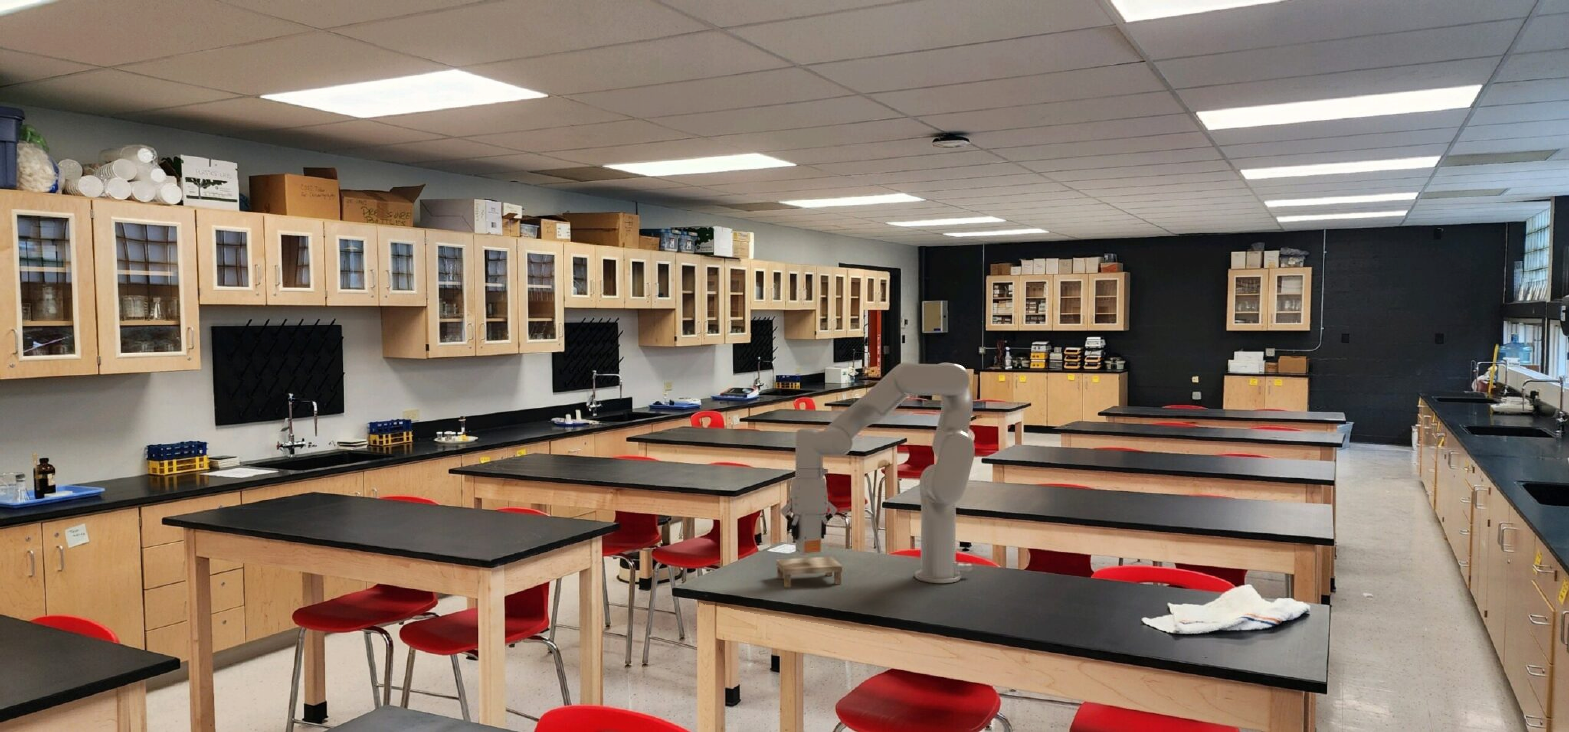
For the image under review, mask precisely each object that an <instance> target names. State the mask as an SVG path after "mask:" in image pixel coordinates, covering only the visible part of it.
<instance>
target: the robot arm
mask: <svg viewBox="0 0 1569 732" xmlns="http://www.w3.org/2000/svg"><path fill="white" fill-rule="evenodd" d="M969 385H970V374H969V372H968V370H967V369H966V368H965V367H964V366H963V365H960V364H957V363H951V362H941V363H940V362H939V363H937V364H936V363H914V362H906V361H905V362H901V363H899V364H897V365H895V366H894V367H893V368H892V369H891V370H890V371H889V372H888V373H886V375H885V376H884V377H882V378H881V379H880V380H879V381H878V382H877V383H876V384H875V385H874V386H872V388H870V389H869V390H868V391H867V392H866V393H865V394H863V396H861V397H860V398H859V399H857V400H856V401H855V402H854V403H853V404H851V405H850V406H849V407H848V408H846V409H845V410H843V411H842V412H841V413H840V414H839V415H838V416H837V417H836V418H834V419H833V420H832V421H831V422H830V423H829V424H828V425H827V426H826V427H825V428H824V429H823V430H821V429H820V428H814V427H812V428H811V427H810V428H807V427H806V428H803V427H802V428H799V429H798V430H797V431H796V433H795V474H794V475H795V476H794V477H792V479H791V482H790V483H791V484H790V491H789V502H787V503H786V504H785V505H784V506H783V507H782V508H781V509H780V510H779V512H780V513H781V516H783V517H784V518H785V519H786V520H787V521H788V522H789V523H790V525H791V527H790V529H791V531H790V534H791V537H792V538H793V539H794V540H795V541H796V540H797V539H798V525H797V521H798V519H799V517H800V516H801V515H802V512H803V511H810V512H811V513H812V514H814V515H820V516H821V519H822V528H821V540H824V539H825V536H826V535H827V524H828V523H829V522H830V520H831V519H832V518H833V516H834V515H835V514H836V513H837V512H838V508H837V507H836V506H834V505H833V504H832V503H831V501H829V499H828V488H827V483H826V482H827V481H826V478H825V477H824V476H825V475H826V474H827V475H828V474H829V469H828V468H825V467H824V456H830V457H843V456H845V455H848V454H849V452H850V451H851V450H852V448H853V445H854V444H853V438H854V437H856V436H857V435H858V434H859V433H860V432H862V430H864V429H866V428H867V427H868V426H870V425H873V424H876V423H878V422H880V421H882V420H885V418H887V417H888V416H889V415H890V414H891V413H893V411H894V410H896V408H898V407H899V405H901V404H902V403H903V402H904V401H906V399H908V398H909V397H910V396H940V399H941V409H940V414H939V418H938V423H937V425H936V430H935V433H934V436H933V440H932V444H931V447H932V451H933V453H934V455H935V456H936V457H937V461H936V463H935V464H930V465H929V466H927V467H926V468H925V469H924V470H922V473H921V475H920V478H919V494H920V513H921V515H920V516H921V521H920V569H918V570H916V571H915V572H914V573H915V574H914V576H915V578H916V579H917V580H919V581H921V582H924V583H925V582H926V583H930V584H931V583H933V584H951V583H955V582H959V581H960V580H961V579H962V578H961V577H962V575H961V572H962V571H963V572H967V571H972V570H973V565H972V563H964V562H958V561H956V536H957V534H956V531H957V530H956V525H957V524H956V523H957V521H956V520H957V517H956V516H957V513H956V512H957V509H956V503H957V502H959V501H960V500H961V498H963V496H964V493H965V491H966V489H967V485H968V481H969V478H970V475H971V471H972V467H973V462H974V460H975V452H976V450H975V449H976V448H975V442H974V440H973V438H972V437H971V436H970V435H969V434H968V433H969V430H970V429H969V428H970V425H971V419H972V416H973V415H972V414H973V409H974V408H973V407H974V403H973V402H974V401H973V400H974V399H973V395H972V392H971V389H970V387H969ZM828 509H829V512H828ZM788 511H790V512H791V513H792V516H790V514H789V513H788ZM825 514H826V515H825Z"/></svg>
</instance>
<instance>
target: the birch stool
mask: <svg viewBox="0 0 1569 732" xmlns="http://www.w3.org/2000/svg"><path fill="white" fill-rule="evenodd" d="M775 564H776V565H775V566H776V578H777V579H778V580H782V579H783V586H784V588H791V587H792V581H791V580H792V575H803V574H804V575H806V574H807V575H808V574H823V573H824V574H825V576H826V575H827V576H826V577H832V576H833V575H834V576H833V584H834V585H836V584H837V585H842V573H843V566H842V564H840V563H839V562H838V561H837V560H836V559H834V557H832V556H819V557H802V558H801V557H799V558H780V559H779V558H778V559H776V560H775Z"/></svg>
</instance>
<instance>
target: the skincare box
mask: <svg viewBox="0 0 1569 732" xmlns="http://www.w3.org/2000/svg"><path fill="white" fill-rule="evenodd" d="M797 525H798V539H797V540H795V553H797V554H799V555H801V556H804V555H805V556H806V555H816V554H817V555H818V554H822V538H821V528H822V519H821V516H820V515H814V514H812V513H811V512H810V511H803V512H802V515H801V516H800V517H799V519H798V521H797Z"/></svg>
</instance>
